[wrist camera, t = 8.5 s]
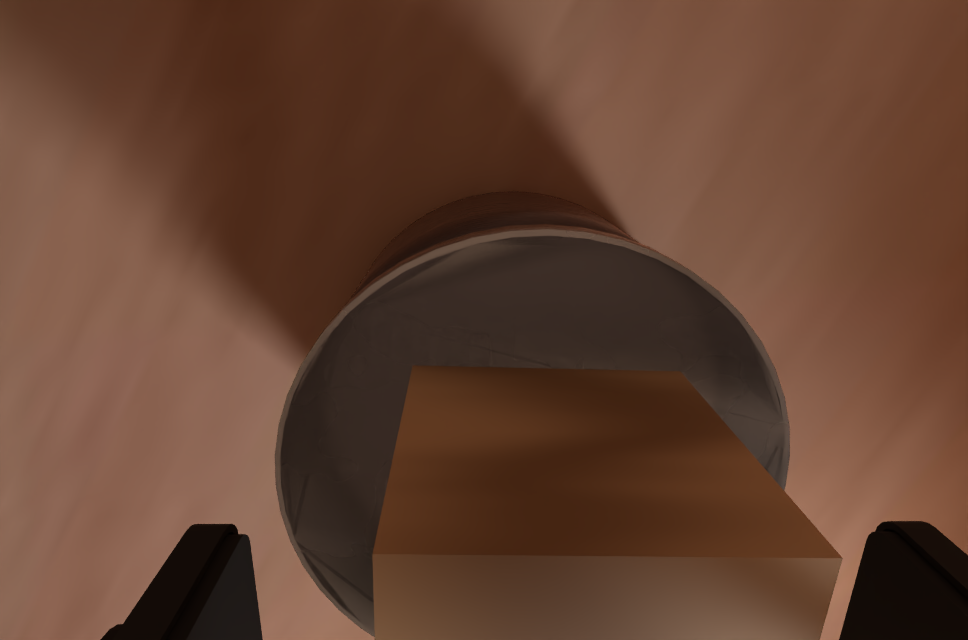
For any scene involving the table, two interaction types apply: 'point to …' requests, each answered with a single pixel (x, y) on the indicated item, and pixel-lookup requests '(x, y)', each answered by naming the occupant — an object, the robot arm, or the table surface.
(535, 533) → the walnut block
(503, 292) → the black tin
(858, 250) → the table surface
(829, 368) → the table surface
